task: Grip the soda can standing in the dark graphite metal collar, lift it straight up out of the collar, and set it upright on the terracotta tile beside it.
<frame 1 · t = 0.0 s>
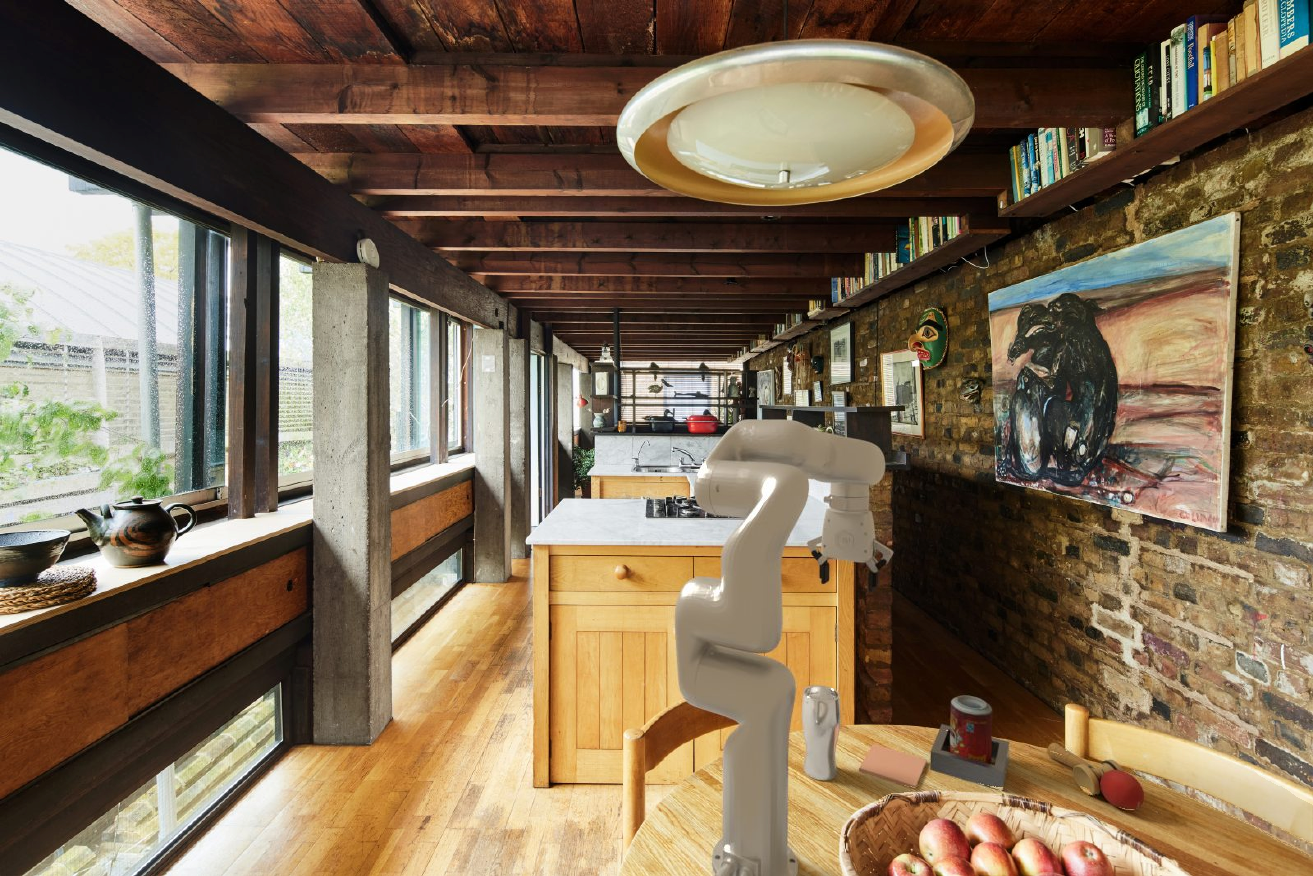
hand: (848, 586, 127), 31 cm above the table, tool pointing down, fingers open, 9 cm apart
kendama: (1090, 786, 111), on the table
soda can: (970, 765, 117), on the table
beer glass: (820, 772, 115), on the table
collar: (970, 764, 117), on the table
tile: (893, 766, 117), on the table
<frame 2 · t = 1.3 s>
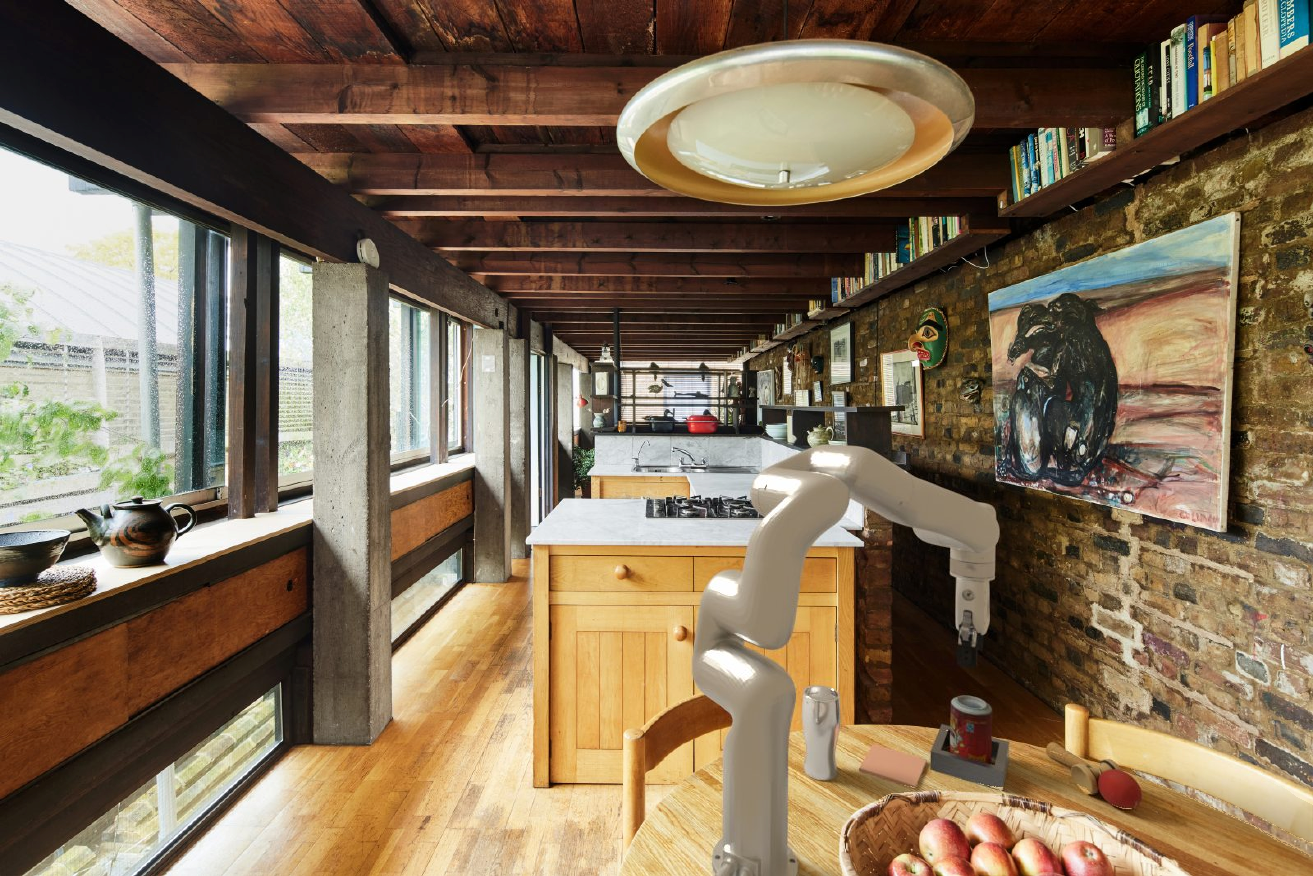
hand: (970, 657, 117), 21 cm above the table, tool pointing down, fingers open, 9 cm apart
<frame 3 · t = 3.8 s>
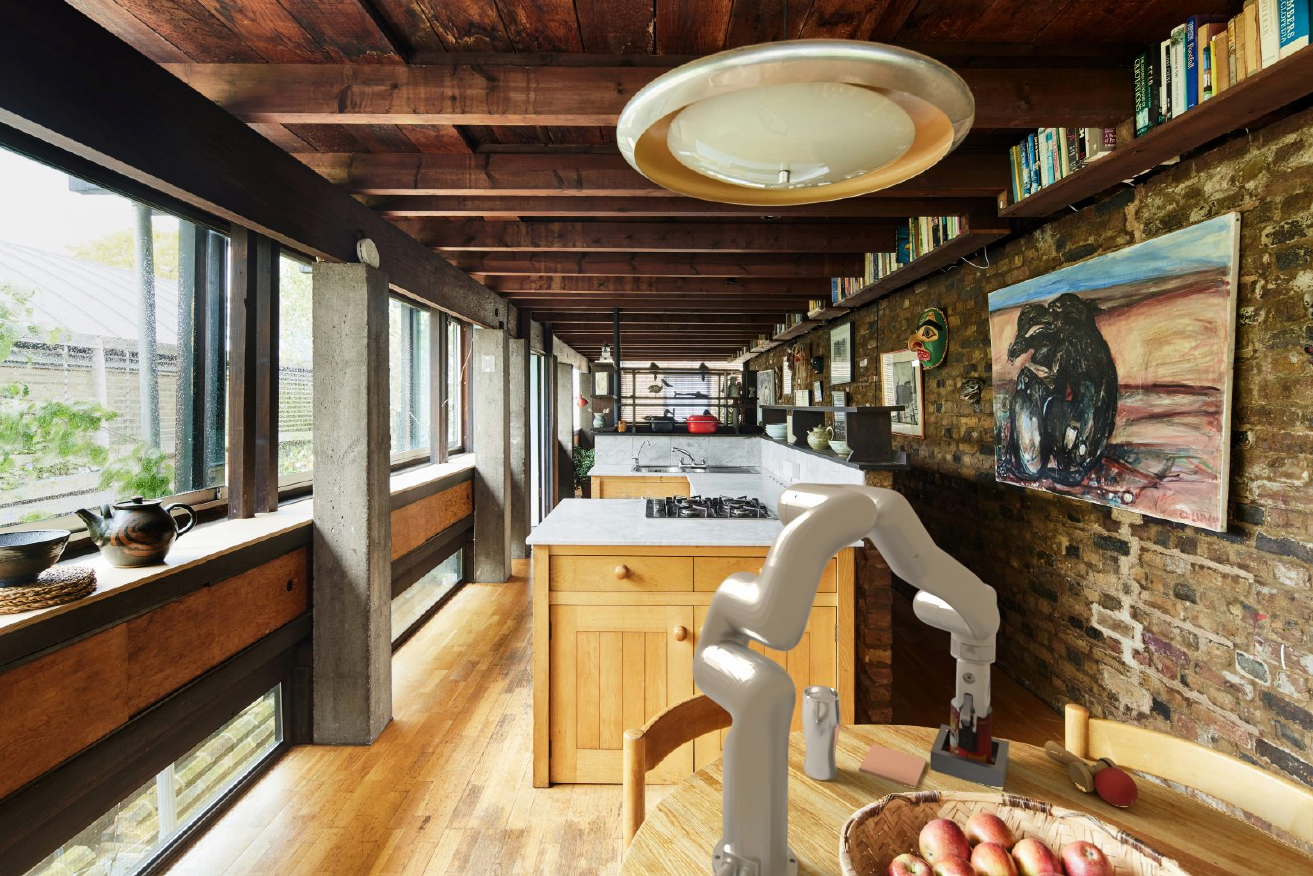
hand: (970, 739, 117), 5 cm above the table, tool pointing down, fingers closed on soda can, 7 cm apart
soda can: (970, 765, 117), on the table, touching gripper
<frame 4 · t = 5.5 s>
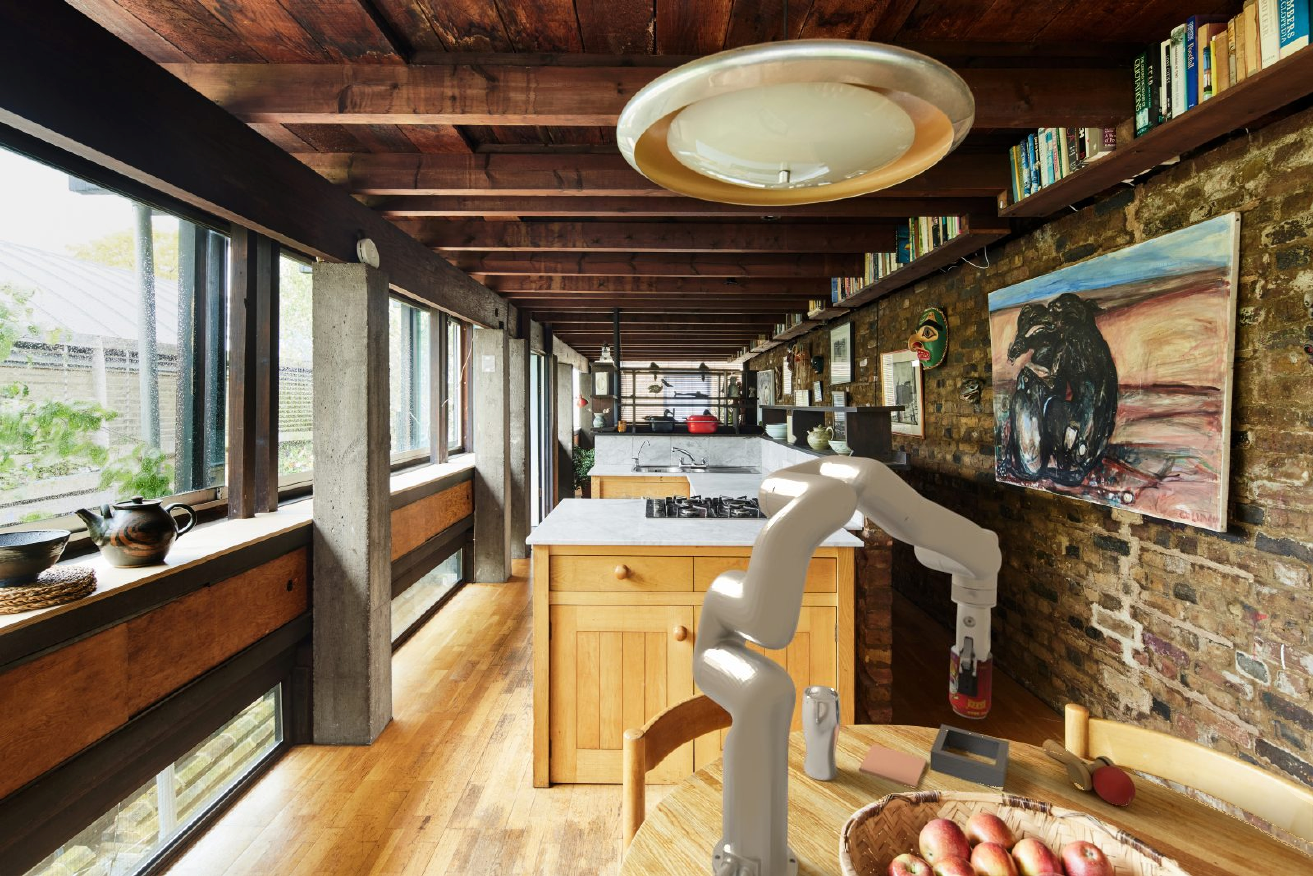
hand: (970, 686, 116), 15 cm above the table, tool pointing down, fingers closed on soda can, 7 cm apart
soda can: (969, 712, 117), point 10 cm above the table, touching gripper
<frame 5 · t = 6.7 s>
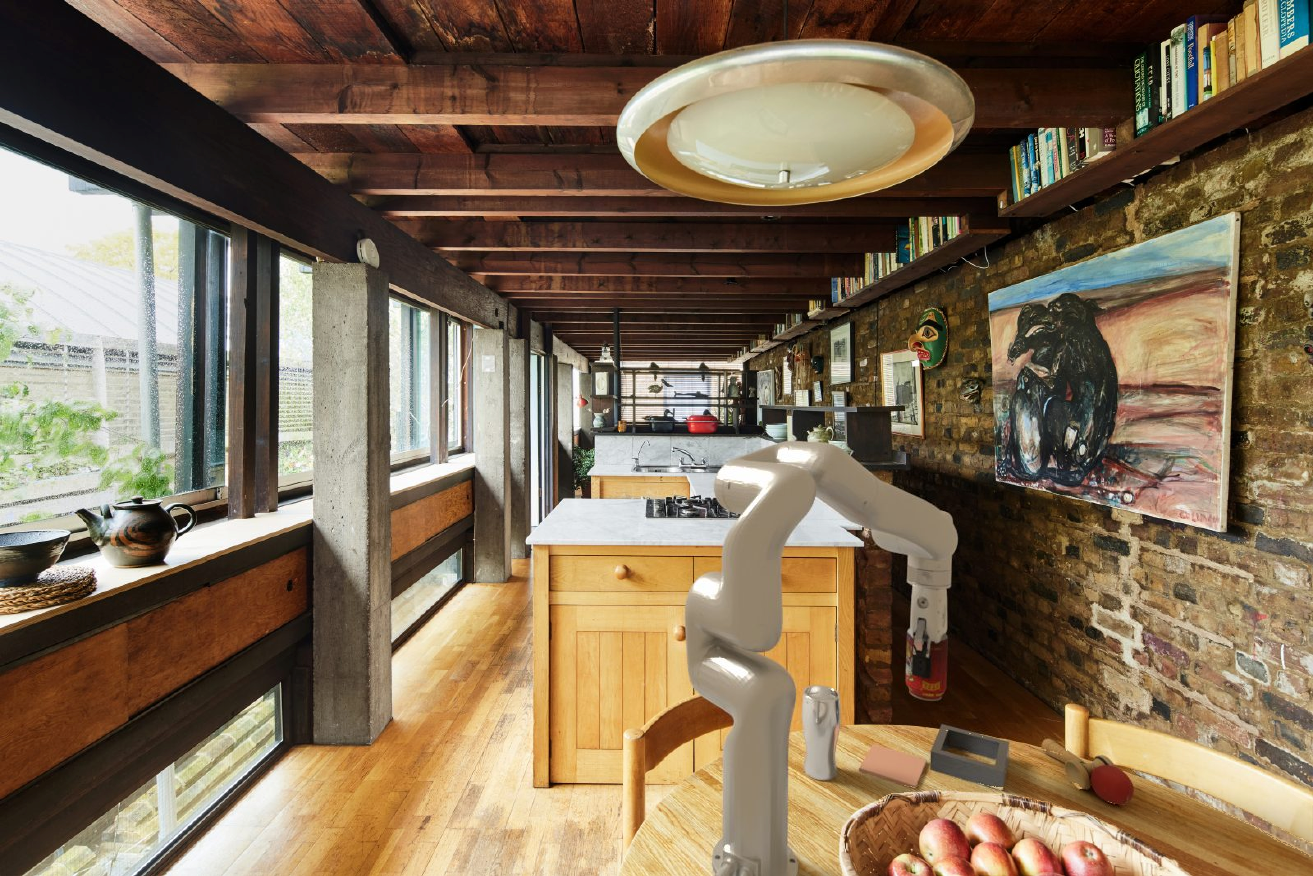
hand: (926, 668, 116), 19 cm above the table, tool pointing down, fingers closed on soda can, 7 cm apart
soda can: (925, 695, 116), point 14 cm above the table, touching gripper
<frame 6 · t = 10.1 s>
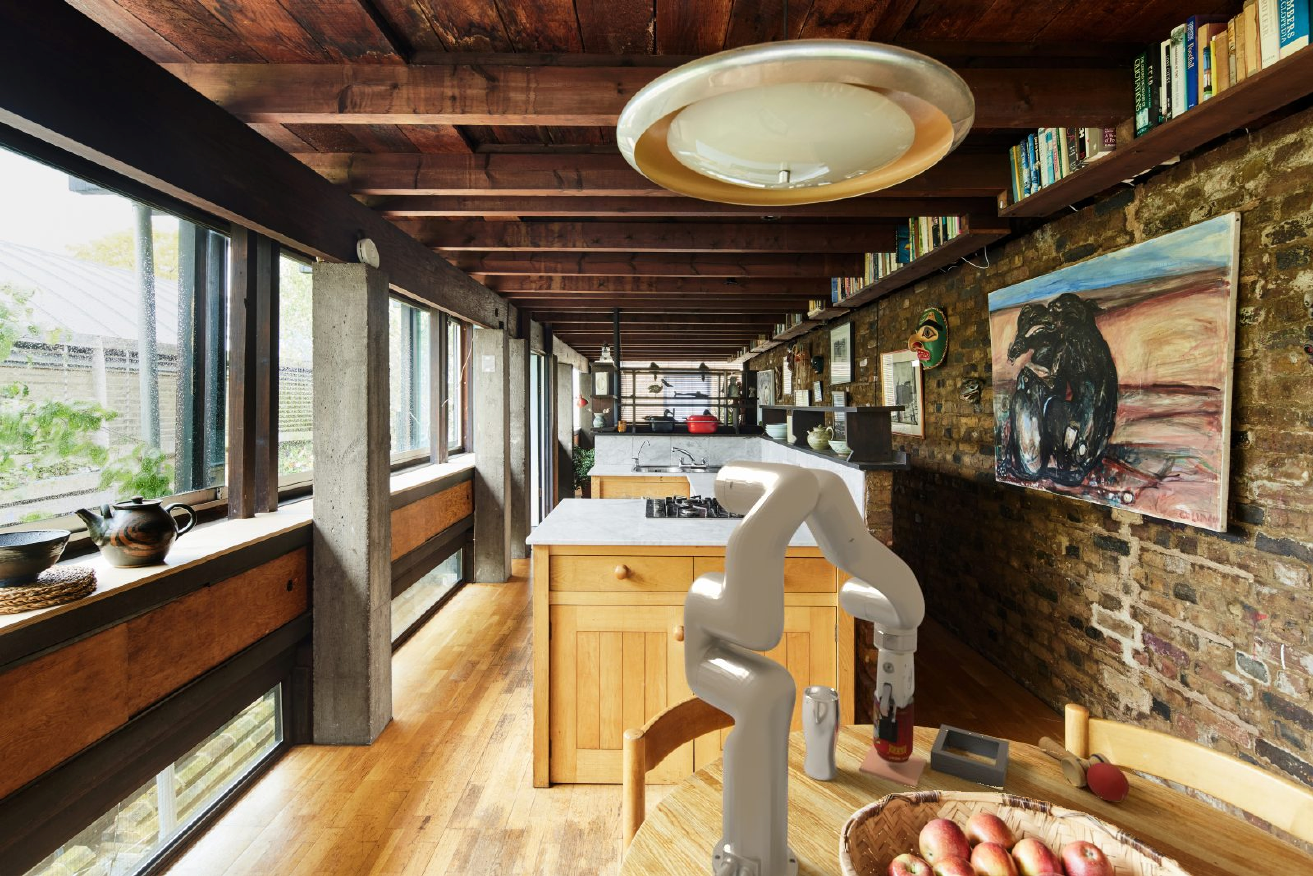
hand: (893, 730, 116), 7 cm above the table, tool pointing down, fingers closed on soda can, 7 cm apart
soda can: (892, 756, 116), point 2 cm above the table, touching gripper
when the fingers open (7 cm above the table, at t = 10.1 s): soda can drops 2 cm, resting on tile.
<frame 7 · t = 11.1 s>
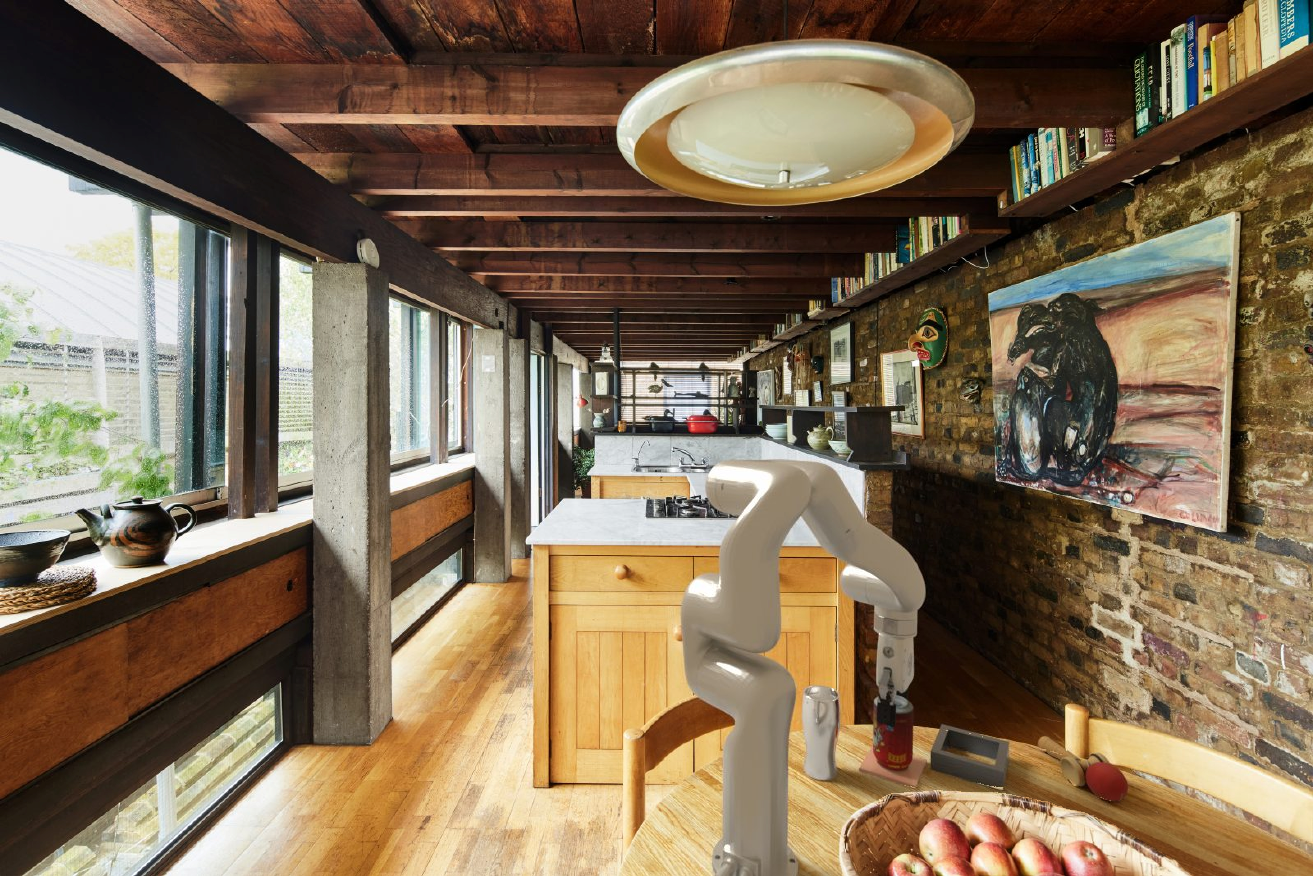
hand: (892, 713, 116), 10 cm above the table, tool pointing down, fingers open, 9 cm apart
soda can: (892, 764, 117), resting on tile
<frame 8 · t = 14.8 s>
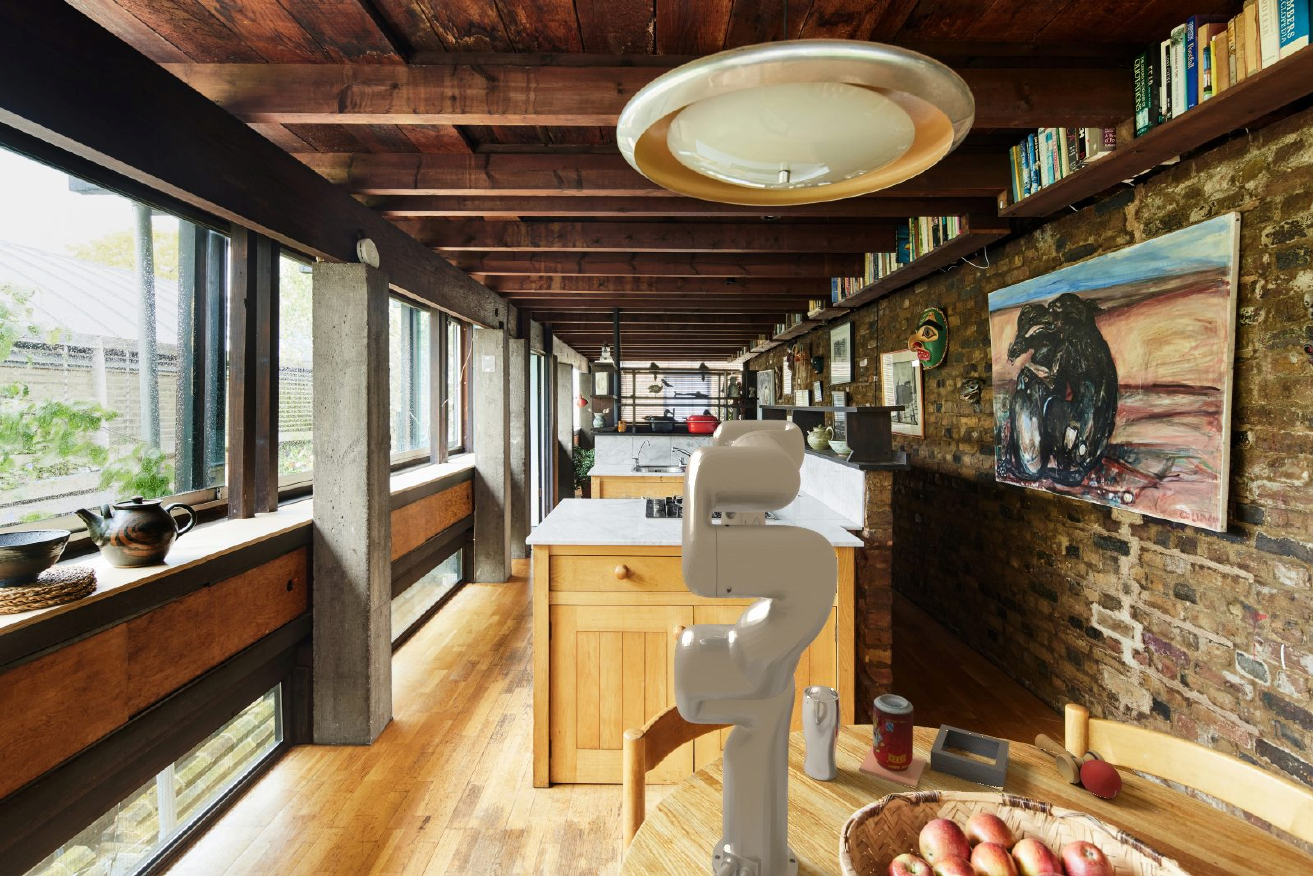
hand: (742, 581, 113), 36 cm above the table, tool pointing down, fingers open, 9 cm apart
at the end: soda can 0.1 cm off-centre on the tile, point 0.4 cm above the tile's base; soda can tilted 1°; the gripper is holding nothing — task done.
